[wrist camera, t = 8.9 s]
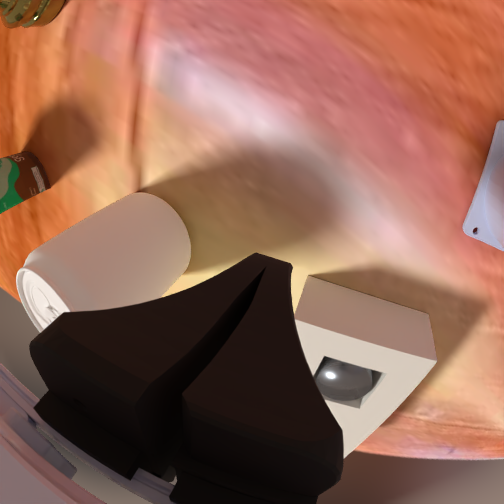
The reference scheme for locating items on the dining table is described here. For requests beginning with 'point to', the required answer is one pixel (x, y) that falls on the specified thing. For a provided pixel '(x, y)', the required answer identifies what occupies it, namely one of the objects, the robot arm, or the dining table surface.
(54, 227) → the dining table surface
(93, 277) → the beverage can
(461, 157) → the dining table surface
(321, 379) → the peg
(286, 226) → the dining table surface
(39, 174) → the food container
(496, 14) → the dining table surface
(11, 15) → the olive green tiered piece
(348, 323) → the bore block
